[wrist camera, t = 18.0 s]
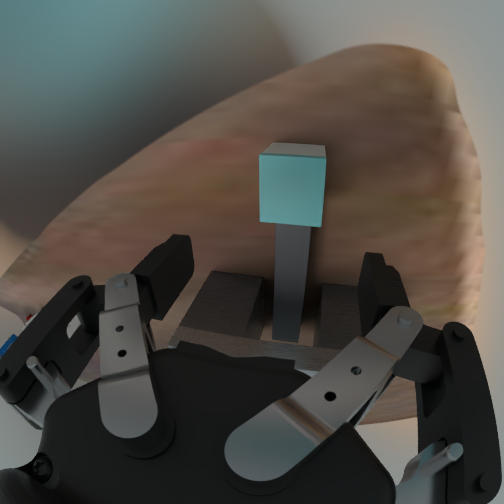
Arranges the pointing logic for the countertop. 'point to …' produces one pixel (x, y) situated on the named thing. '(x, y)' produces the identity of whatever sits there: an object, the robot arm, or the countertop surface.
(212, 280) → the housing
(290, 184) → the plug
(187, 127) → the countertop surface
